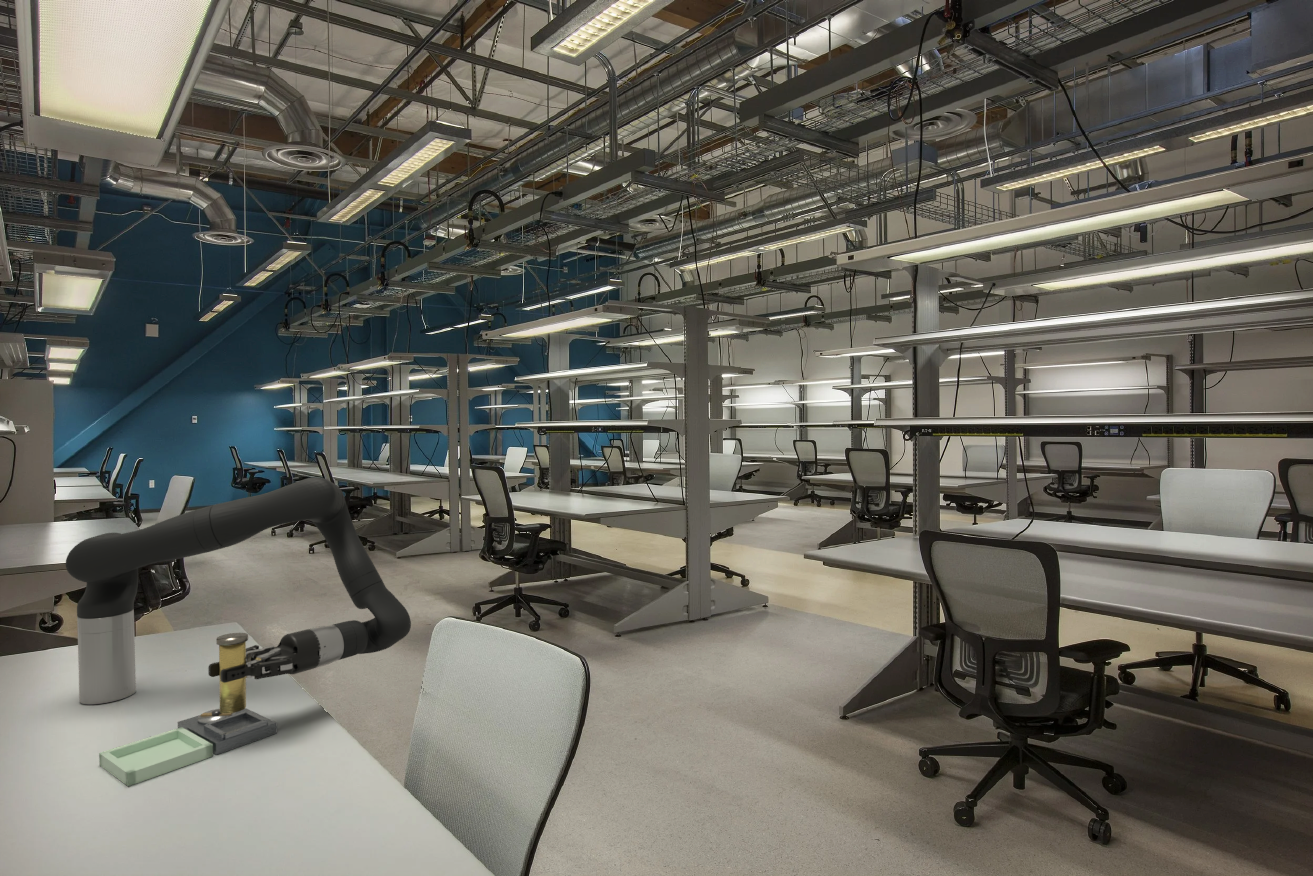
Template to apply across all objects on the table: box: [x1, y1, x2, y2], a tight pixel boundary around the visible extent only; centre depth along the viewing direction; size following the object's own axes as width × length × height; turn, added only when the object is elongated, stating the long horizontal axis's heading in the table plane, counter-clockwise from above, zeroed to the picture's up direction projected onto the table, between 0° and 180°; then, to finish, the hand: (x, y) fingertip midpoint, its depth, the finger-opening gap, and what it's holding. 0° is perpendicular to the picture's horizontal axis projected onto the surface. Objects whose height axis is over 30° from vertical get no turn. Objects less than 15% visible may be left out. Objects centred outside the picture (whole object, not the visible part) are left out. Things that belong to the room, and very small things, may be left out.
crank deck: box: [177, 707, 277, 756], centre depth 128 cm, size 15×10×3 cm, turn 55°
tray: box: [98, 727, 214, 787], centre depth 118 cm, size 12×12×2 cm
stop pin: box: [216, 632, 249, 713], centre depth 126 cm, size 5×5×13 cm
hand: (215, 673), depth 124 cm, fingers closed on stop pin, 4 cm apart
